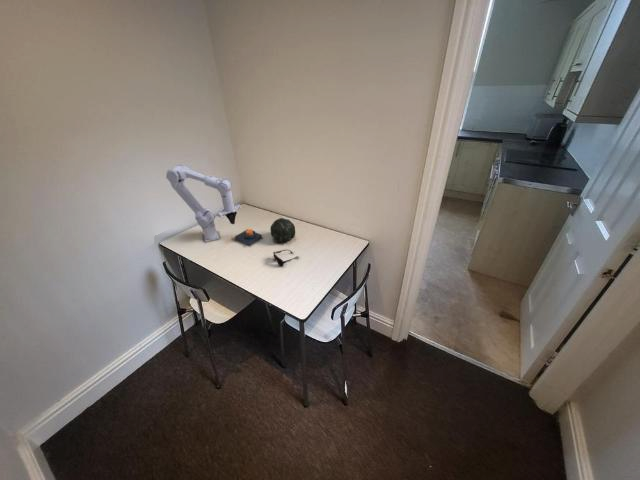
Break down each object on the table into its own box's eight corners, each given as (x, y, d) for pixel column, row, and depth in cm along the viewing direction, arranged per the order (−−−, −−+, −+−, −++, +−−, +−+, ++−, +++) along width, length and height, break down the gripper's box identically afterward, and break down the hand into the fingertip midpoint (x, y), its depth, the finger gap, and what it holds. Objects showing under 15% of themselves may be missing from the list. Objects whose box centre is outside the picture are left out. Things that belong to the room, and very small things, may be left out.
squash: (294, 221, 160) (277, 208, 150) (303, 233, 149) (286, 220, 139) (279, 238, 161) (261, 226, 151) (287, 251, 150) (268, 239, 140)
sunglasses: (270, 258, 136) (270, 250, 134) (289, 253, 143) (290, 245, 141) (280, 268, 129) (280, 260, 127) (300, 262, 136) (300, 254, 134)
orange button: (244, 234, 150) (244, 231, 149) (249, 231, 152) (249, 228, 151) (249, 236, 148) (248, 233, 147) (254, 233, 151) (254, 230, 149)
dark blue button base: (235, 239, 152) (234, 233, 150) (248, 232, 159) (247, 226, 157) (249, 246, 147) (248, 239, 144) (262, 238, 154) (261, 231, 151)
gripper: (221, 208, 134) (227, 230, 141) (243, 199, 144) (246, 220, 151) (213, 205, 137) (218, 227, 144) (234, 196, 147) (238, 217, 154)
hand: (232, 223), depth 148 cm, fingers closed
